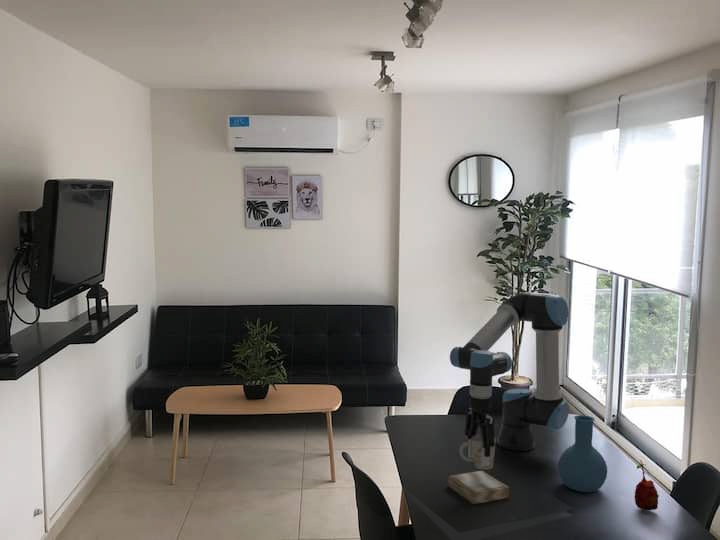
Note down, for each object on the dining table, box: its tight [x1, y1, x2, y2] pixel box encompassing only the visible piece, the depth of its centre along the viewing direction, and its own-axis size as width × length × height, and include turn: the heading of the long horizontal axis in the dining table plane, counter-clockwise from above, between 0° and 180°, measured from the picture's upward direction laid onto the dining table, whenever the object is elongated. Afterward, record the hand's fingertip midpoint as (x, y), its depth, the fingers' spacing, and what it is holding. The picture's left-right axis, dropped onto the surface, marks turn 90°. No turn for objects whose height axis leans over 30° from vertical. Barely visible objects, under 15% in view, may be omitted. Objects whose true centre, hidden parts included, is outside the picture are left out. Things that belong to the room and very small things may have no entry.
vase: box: [557, 414, 608, 493], centre depth 230 cm, size 16×16×25 cm
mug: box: [458, 434, 497, 470], centre depth 225 cm, size 8×13×10 cm, turn 79°
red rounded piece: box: [634, 460, 660, 511], centre depth 215 cm, size 8×7×15 cm
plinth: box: [448, 470, 510, 505], centre depth 226 cm, size 14×16×4 cm
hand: (478, 461), depth 225 cm, fingers closed on mug, 7 cm apart
